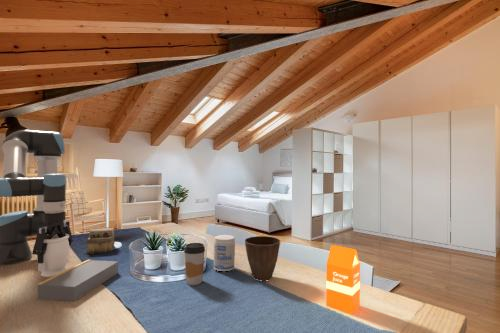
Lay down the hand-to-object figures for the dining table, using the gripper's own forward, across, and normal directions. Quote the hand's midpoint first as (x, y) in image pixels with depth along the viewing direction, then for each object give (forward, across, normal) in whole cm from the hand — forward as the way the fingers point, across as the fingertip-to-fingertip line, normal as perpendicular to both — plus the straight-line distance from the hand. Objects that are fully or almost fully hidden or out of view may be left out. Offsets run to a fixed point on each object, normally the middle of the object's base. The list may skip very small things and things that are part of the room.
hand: (53, 265), depth 114 cm
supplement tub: (+6, +22, -66) cm, 70 cm away
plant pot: (+5, +14, -84) cm, 86 cm away
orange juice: (+5, -6, -113) cm, 114 cm away
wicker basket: (+7, +40, +8) cm, 41 cm away
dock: (+6, -2, -14) cm, 16 cm away
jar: (+3, 0, 0) cm, 3 cm away
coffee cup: (+5, +6, -57) cm, 58 cm away
